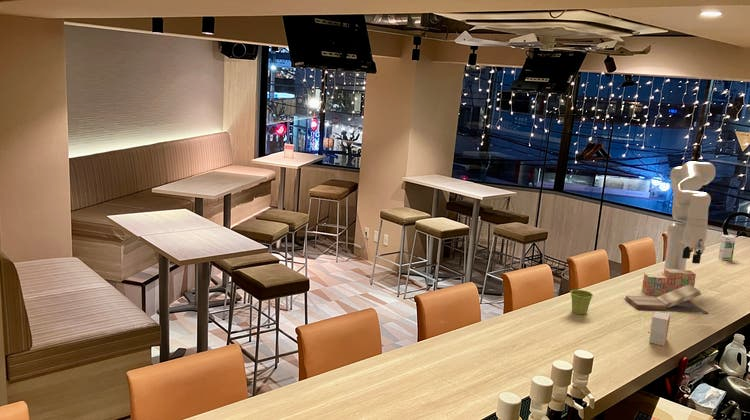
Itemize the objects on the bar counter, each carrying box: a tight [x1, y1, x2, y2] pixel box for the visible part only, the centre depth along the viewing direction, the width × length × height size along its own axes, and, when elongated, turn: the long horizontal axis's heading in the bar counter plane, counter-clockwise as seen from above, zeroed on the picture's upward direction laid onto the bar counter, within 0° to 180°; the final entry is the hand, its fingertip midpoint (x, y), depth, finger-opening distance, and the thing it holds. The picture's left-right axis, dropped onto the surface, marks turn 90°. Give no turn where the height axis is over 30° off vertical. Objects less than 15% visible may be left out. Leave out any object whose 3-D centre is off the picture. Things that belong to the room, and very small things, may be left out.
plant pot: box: [569, 289, 594, 315], centre depth 255 cm, size 9×9×9 cm
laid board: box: [624, 295, 667, 310], centre depth 267 cm, size 12×13×2 cm
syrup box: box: [718, 234, 736, 261], centre depth 355 cm, size 6×6×14 cm
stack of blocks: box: [641, 268, 697, 296], centre depth 284 cm, size 21×6×12 cm, turn 85°
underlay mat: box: [623, 297, 709, 315], centre depth 268 cm, size 16×31×1 cm, turn 91°
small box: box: [648, 311, 671, 347], centre depth 227 cm, size 8×6×10 cm
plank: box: [655, 285, 702, 308], centre depth 267 cm, size 16×9×2 cm, turn 92°
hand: (690, 260), depth 264 cm, fingers open, 7 cm apart
